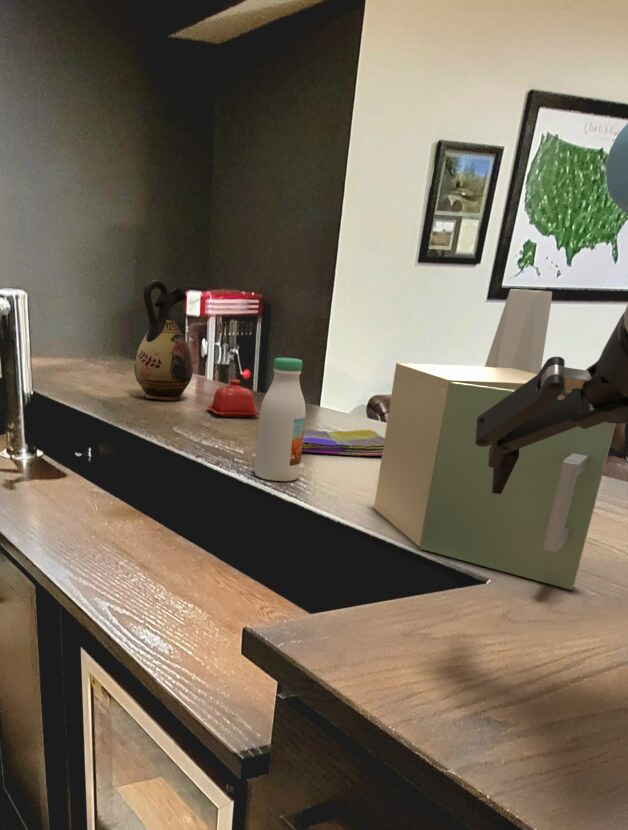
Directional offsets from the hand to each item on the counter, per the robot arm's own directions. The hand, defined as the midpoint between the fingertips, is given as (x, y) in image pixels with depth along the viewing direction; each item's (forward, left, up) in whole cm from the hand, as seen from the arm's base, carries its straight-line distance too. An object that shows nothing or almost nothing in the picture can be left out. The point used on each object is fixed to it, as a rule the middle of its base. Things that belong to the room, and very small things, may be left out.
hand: (577, 490), depth 65 cm
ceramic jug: (+24, -134, -16) cm, 137 cm away
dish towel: (-6, -84, -16) cm, 85 cm away
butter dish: (+8, -115, -16) cm, 116 cm away
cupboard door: (-4, -18, -16) cm, 24 cm away
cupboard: (-9, -35, -16) cm, 39 cm away
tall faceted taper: (-31, -64, -16) cm, 73 cm away
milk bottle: (+11, -60, -16) cm, 63 cm away
